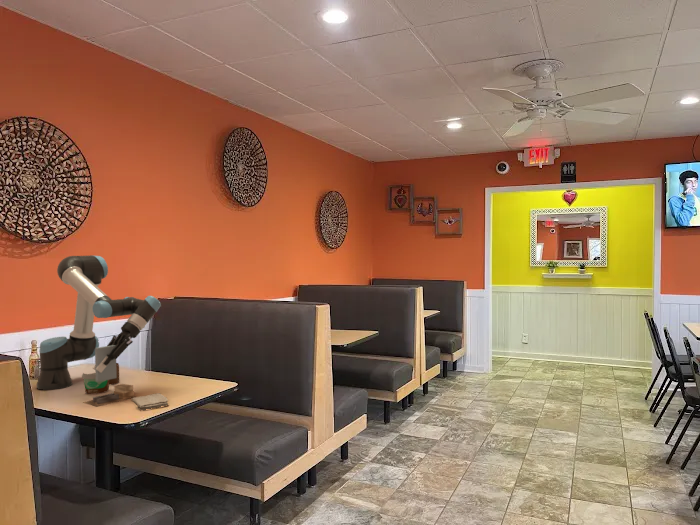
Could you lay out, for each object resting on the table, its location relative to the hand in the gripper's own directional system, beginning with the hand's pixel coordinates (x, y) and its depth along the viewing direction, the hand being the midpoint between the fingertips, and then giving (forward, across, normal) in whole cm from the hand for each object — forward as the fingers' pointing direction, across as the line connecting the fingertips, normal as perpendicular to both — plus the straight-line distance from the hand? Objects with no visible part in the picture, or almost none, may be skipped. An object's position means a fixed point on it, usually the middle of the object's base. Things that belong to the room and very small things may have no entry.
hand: (96, 370), depth 220 cm
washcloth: (+1, -17, -21) cm, 27 cm away
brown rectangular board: (+6, 0, -15) cm, 16 cm away
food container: (+5, +18, -16) cm, 25 cm away
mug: (-6, +33, -27) cm, 43 cm away
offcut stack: (+1, 0, -18) cm, 18 cm away
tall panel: (0, 0, -6) cm, 6 cm away
